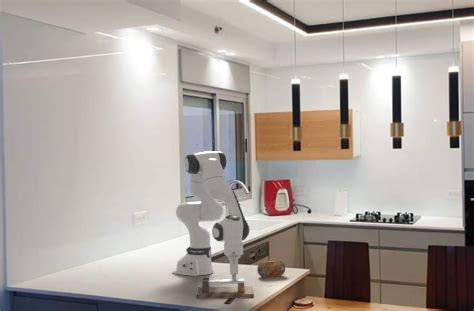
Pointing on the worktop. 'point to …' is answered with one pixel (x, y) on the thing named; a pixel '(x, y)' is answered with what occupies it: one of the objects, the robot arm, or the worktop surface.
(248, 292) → the latch base
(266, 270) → the tin
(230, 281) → the latch lever
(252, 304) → the worktop surface
